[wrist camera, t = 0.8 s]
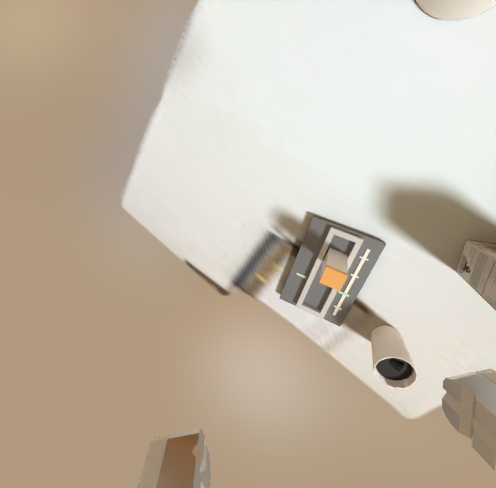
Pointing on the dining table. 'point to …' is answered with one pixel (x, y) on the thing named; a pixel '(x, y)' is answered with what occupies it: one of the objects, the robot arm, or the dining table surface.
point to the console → (310, 266)
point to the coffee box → (480, 269)
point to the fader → (334, 269)
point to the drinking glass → (392, 358)
